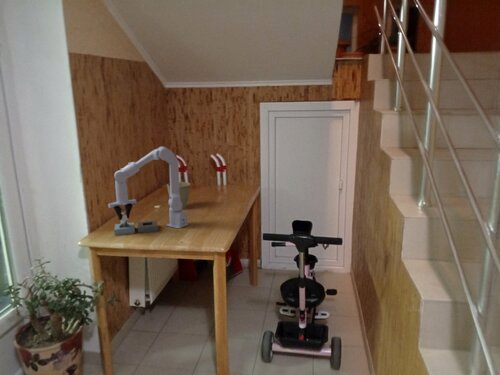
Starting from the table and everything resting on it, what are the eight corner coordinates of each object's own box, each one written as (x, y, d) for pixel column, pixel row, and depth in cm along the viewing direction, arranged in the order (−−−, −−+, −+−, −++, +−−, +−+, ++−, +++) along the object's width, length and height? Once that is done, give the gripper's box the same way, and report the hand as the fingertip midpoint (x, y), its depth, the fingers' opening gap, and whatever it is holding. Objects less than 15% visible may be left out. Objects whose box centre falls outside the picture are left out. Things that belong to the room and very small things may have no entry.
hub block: (134, 227, 216) (134, 222, 215) (134, 233, 206) (134, 227, 206) (115, 229, 213) (115, 224, 212) (114, 235, 204) (114, 229, 203)
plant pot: (186, 211, 246) (185, 186, 242) (164, 210, 249) (163, 186, 245) (194, 205, 260) (193, 182, 257) (173, 204, 263) (172, 181, 259)
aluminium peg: (129, 225, 211) (128, 212, 209) (126, 227, 207) (125, 214, 206) (122, 224, 211) (121, 212, 210) (119, 227, 208) (118, 214, 206)
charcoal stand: (156, 225, 219) (156, 220, 218) (158, 231, 210) (157, 225, 209) (138, 227, 216) (137, 222, 216) (138, 233, 207) (138, 227, 206)
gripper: (111, 197, 198) (113, 223, 201) (138, 192, 207) (140, 217, 210) (105, 194, 203) (108, 220, 206) (132, 190, 212) (134, 214, 215)
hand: (123, 218), depth 208 cm, fingers closed on aluminium peg, 4 cm apart
